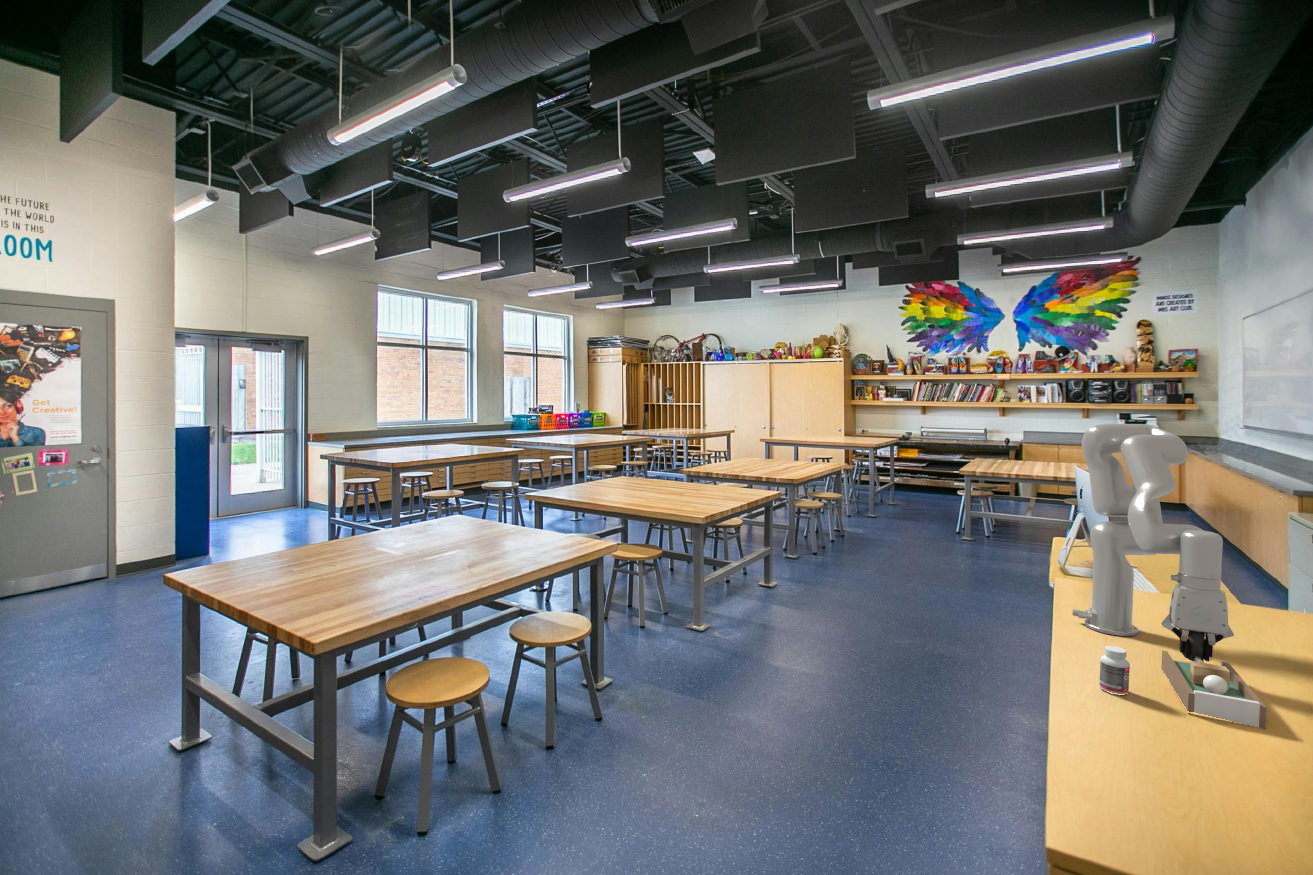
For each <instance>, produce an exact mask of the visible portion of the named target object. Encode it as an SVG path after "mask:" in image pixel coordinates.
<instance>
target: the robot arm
mask: <svg viewBox="0 0 1313 875" xmlns="http://www.w3.org/2000/svg"><path fill="white" fill-rule="evenodd" d="M1081 449H1082V450H1081V451H1082V454H1083V458H1084V460H1085V463H1086V466H1087V468H1088V473H1089V474H1088V475H1089V480H1090V491H1091V497H1092V498H1091V500H1092V504H1093V509H1094V511H1095V512H1096V513H1097V514H1098V515H1100V516H1102V517H1115V518H1117V517H1119V518H1127V521H1123V520H1122V521H1121V520H1120V521H1116V520H1115V521H1112V520H1110V521H1109V520H1107V521H1102V522H1098V523H1096V524H1095V525H1093V526H1092V528H1091V530H1090V533H1089V538H1090V545H1091V550H1092V562H1093V563H1092V590H1091V592H1092V594H1091V595H1092V596H1091V607H1089V609H1085V610H1080V609H1074V608H1072V616H1073V617H1077V618H1078V619H1084V625H1085V626H1086V627H1087V628H1089V629H1091V630H1093V631H1096V632H1099V633H1101V634H1102V633H1103V634H1107V635H1113V636H1121V637H1134V636H1137V635H1139V629H1138V627H1137V626H1135V625H1133V607H1134V606H1133V603H1134V580H1135V578H1134V577H1135V573H1134V569H1133V566H1132V565H1131V563H1130V562H1129V561H1128V559H1127V558H1126V556H1154V555H1158V554H1159V555H1179V563H1178V564H1179V565H1178V572H1177V574H1171V575H1170V580H1171V581H1174V582H1177V583H1176V584H1174V586H1173V588H1172V589H1173V590H1172V593H1171V598H1170V604H1169V609H1168V610H1169V611H1168V615H1167V616H1165V618H1164V619H1163V620H1162V622H1161V625H1162V628H1165V629H1167V630H1168V631H1171V632H1172V633H1173V634H1174V635H1175V636H1177V637H1178V638H1179V647H1178V648H1179V649H1178V650H1179V651H1178V652H1180V654H1182V655H1183V657H1184V658H1185V659H1187V658H1189V653H1190V642H1189V641H1188V633H1189V630H1190V631H1198V632H1205V643H1204V661H1206V662H1210V658H1213V653H1214V652H1213V651H1214V650H1213V648H1214V646H1215V645H1216V644H1217V643H1218V642H1220V641H1222V640H1223V639H1228V638H1232V637H1234V636H1235V633H1234V632H1233V630H1232V628H1231V627H1230V625H1229V611H1228V602H1227V601H1228V600H1227V595H1226V592H1225V591H1223V590H1222V589H1221V587H1222V586H1221V585H1222V584H1221V583H1222V565H1223V546H1224V545H1223V544H1224V539H1223V537H1222V536H1221V535H1220V534H1219V533H1216V532H1214V531H1213V532H1212V531H1208V530H1204V529H1202V528H1201V527H1198V526H1196V525H1192V524H1184V523H1181V524H1178V523H1163V517H1162V508H1161V502H1160V499H1159V498H1161V497H1165V496H1167V495H1168V494H1170V493H1172V492H1174V491H1175V489H1176V487H1177V482H1176V479H1175V478H1174V474H1173V473H1172V470H1171V468H1170V466H1180V465H1182V464H1183V463H1185V462H1186V460H1187V458H1188V454H1189V451H1188V448H1187V445H1186V443H1185V441H1183V439H1182V438H1180V437H1179V436H1178V435H1176V434H1174V433H1172V432H1170V431H1167V430H1165V429H1162V428H1160V427H1157V426H1154V425H1151V424H1144V423H1103V424H1096V425H1093V426H1091V427H1089V428H1087V429H1086V431H1085V432H1084V433H1083V436H1082V439H1081ZM1113 454H1121V455H1122V458H1123V461H1124V462H1125V465H1126V467H1127V470H1128V473H1129V475H1130V476H1129V477H1130V478H1131V481H1132V484H1129V483H1127V479H1126V471H1125V468H1124V466H1123V464H1122V463H1121V462H1120V461H1119V459H1118V458H1116V457H1115V456H1114V455H1113Z"/></svg>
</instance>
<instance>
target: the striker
mask: <svg viewBox="0 0 1313 875" xmlns="http://www.w3.org/2000/svg"><path fill="white" fill-rule="evenodd" d="M1188 641H1189V642H1190V653H1189V658H1186V659H1187V660H1189V661H1190V663H1191V665H1190V679H1191V680H1192V682H1193V683H1195V684H1201V685H1203V680H1204V678H1205V677H1206V676H1209V675H1216V676H1219V677H1221V678H1223V679H1224V680H1225V681H1226V682H1227V684H1228V689H1229V682H1230V671H1229V670H1228V669H1227V667H1225V666H1221V665H1218V664H1211V663H1207V662H1204V661H1205V660H1204V643H1205V632H1198V631H1190V630H1189V633H1188Z"/></svg>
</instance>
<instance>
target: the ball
mask: <svg viewBox="0 0 1313 875" xmlns="http://www.w3.org/2000/svg"><path fill="white" fill-rule="evenodd" d="M1203 685H1204V687H1205V688H1206V690H1207V691H1209V692H1210V693H1213V694H1219V695H1222V694H1224V693H1226V692H1227V690H1228V684H1227V682H1226V681H1225V680H1224V679H1223V678H1221V677H1219V676H1216V675H1209V676H1206V677H1205V678H1204V680H1203Z"/></svg>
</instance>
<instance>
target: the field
mask: <svg viewBox="0 0 1313 875" xmlns="http://www.w3.org/2000/svg"><path fill="white" fill-rule="evenodd" d="M1190 665H1191V662H1186V661H1182V660H1181V661H1180V660H1174V659H1173V658H1172V656H1171V655H1170V654H1169V652H1168V651H1167V650H1161V666H1160V667H1161V670H1162V672H1163V671H1164V672H1163V674H1164V673H1165V674H1166V675H1165V674H1164V675H1165V677H1166V676H1167V677H1166V679H1167V678H1168V679H1169V681H1170V682H1169V681H1168V682H1169V684H1170V683H1171V684H1170V685H1172V686H1173V688H1174V689H1173V688H1172V689H1173V691H1174V690H1175V691H1176V693H1177V694H1178V696H1179V698H1180V699H1181V701H1182V703H1183V704H1184V706H1185V707H1186V709H1187V711H1189V712H1196V713H1199V714H1204V715H1208V716H1212V717H1216V718H1221V719H1225V720H1229V721H1232V722H1236V723H1235V724H1237V723H1240V724H1239V725H1242V724H1246V725H1245V726H1247V725H1250V726H1249V727H1252V726H1254V727H1253V728H1257V727H1259V728H1258V729H1262V728H1263V729H1262V730H1266V727H1267V708H1268V707H1267V706H1266V704H1265V703H1264V702H1263V701H1262V700H1261V699H1260V698H1259V696H1257V694H1256V693H1255V692H1254V691H1253V690H1252V689H1251V687H1250V686H1249V685H1248V684H1247V682H1246V681H1245V680H1244V679H1243V677H1241V676H1240V673H1238V672H1237V671H1236V670H1235V669H1234V667H1233V666H1232V665H1231V664H1230V662H1228V661H1227V660H1223V659H1221V661H1220V666H1225V667H1227V669H1228V670H1229V671H1230V682H1229V689H1228V690H1227V692H1226V693H1224V694H1222V695H1219V694H1213V693H1210V692H1209V691H1207V690H1206V688H1205V687H1204V685H1201V684H1195V683H1193V682H1192V680H1191V679H1190ZM1168 679H1167V680H1168ZM1172 686H1171V687H1172ZM1175 691H1174V692H1175ZM1176 693H1175V694H1176ZM1177 694H1176V695H1177ZM1178 696H1177V697H1178ZM1179 698H1178V699H1179ZM1181 701H1180V702H1181ZM1182 703H1181V704H1182Z"/></svg>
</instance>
